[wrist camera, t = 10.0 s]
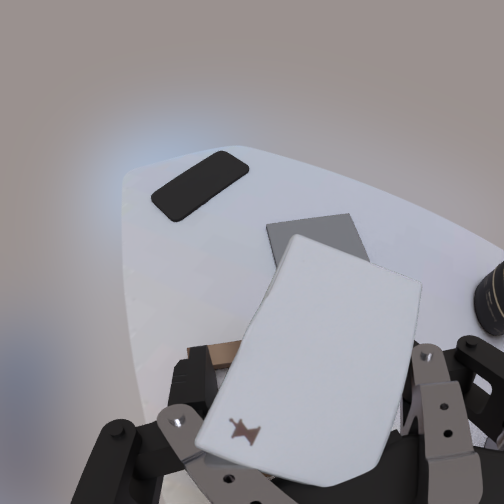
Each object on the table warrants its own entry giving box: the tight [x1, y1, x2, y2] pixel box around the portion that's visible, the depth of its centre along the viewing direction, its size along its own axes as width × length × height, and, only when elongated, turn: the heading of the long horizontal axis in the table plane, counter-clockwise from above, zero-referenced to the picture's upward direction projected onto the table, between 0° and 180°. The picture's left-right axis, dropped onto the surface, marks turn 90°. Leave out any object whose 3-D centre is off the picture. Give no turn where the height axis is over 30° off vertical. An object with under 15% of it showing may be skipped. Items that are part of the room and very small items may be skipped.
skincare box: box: [195, 234, 422, 487], centre depth 11 cm, size 6×4×12 cm
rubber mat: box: [266, 213, 370, 267], centre depth 34 cm, size 12×12×1 cm
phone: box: [151, 151, 249, 222], centre depth 41 cm, size 7×1×15 cm
